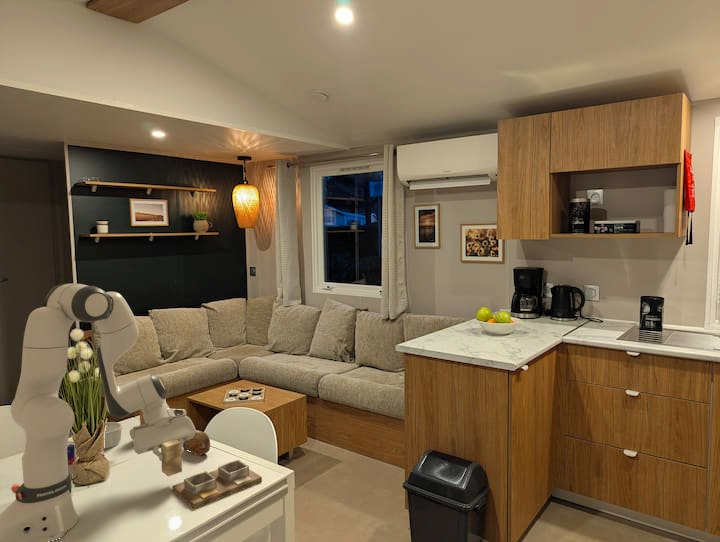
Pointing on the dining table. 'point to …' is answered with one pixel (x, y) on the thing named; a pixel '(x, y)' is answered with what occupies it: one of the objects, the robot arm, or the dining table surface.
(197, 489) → the socket board
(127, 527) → the dining table surface
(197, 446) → the tin
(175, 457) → the wooden plug
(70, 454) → the energy drink
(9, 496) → the dining table surface
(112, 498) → the dining table surface
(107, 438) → the ramekin
